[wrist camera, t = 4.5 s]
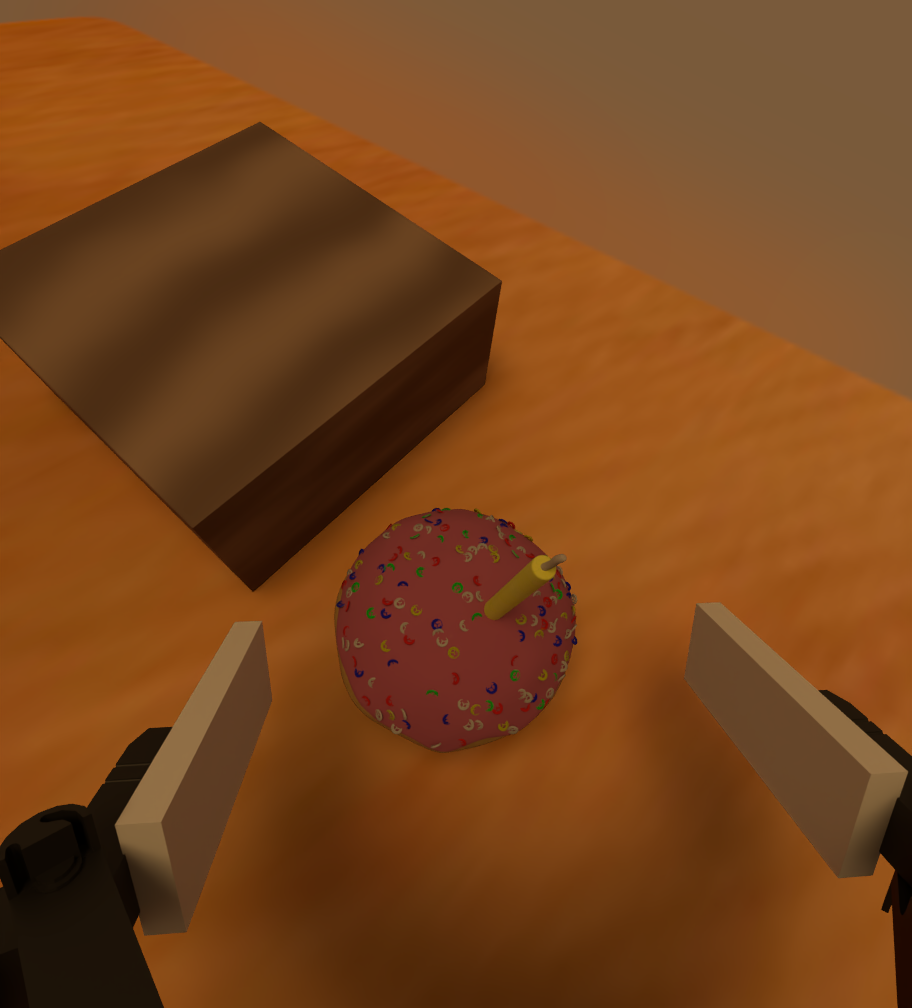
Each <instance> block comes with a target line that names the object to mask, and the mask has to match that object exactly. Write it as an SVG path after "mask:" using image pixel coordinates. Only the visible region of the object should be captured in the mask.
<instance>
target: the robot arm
mask: <svg viewBox="0 0 912 1008" xmlns="http://www.w3.org/2000/svg"><path fill="white" fill-rule="evenodd" d="M684 679H685V680H686V682H687V683H688V684H689V686H690V687H691V688H692V689H693V691H694V692H695V693H696V695H697V696H698V697H699V698H700V700H701V701H702V702H703V704H704V705H705V706H706V708H707V709H708V710H709V711H710V713H711V714H712V715H713V717H714V718H715V719H716V720H717V722H718V723H719V724H720V726H721V727H722V728H723V730H724V731H725V732H726V733H727V735H728V736H729V737H730V739H731V740H732V741H733V743H734V744H735V745H736V746H737V748H738V749H739V750H740V752H741V753H742V754H743V755H744V757H745V758H746V759H747V761H748V762H749V763H750V765H751V766H752V767H753V768H754V770H755V771H756V772H757V774H758V775H759V776H760V778H761V779H762V780H763V781H764V783H765V784H766V785H767V787H768V788H769V789H770V790H771V792H772V793H773V794H774V796H775V797H776V798H777V800H778V801H779V802H780V803H781V805H782V806H783V807H784V809H785V810H786V811H787V813H788V814H789V815H790V816H791V818H792V819H793V820H794V822H795V823H796V824H797V825H798V827H799V828H800V829H801V831H802V832H803V833H804V835H805V836H806V837H807V838H808V840H809V841H810V842H811V844H812V845H813V846H814V848H815V849H816V850H817V851H818V853H819V854H820V855H821V857H822V858H823V859H824V860H825V862H826V863H827V864H828V866H829V867H830V868H831V870H832V871H833V872H834V873H835V875H836V876H837V877H838V878H846V877H858V876H870V875H873V873H874V870H875V867H876V864H877V861H878V858H879V855H880V853H881V854H882V855H883V856H884V858H885V859H886V860H887V861H888V862H889V863H890V864H891V866H892V867H893V868H894V869H895V872H894V875H893V878H892V880H891V883H890V886H889V889H888V891H887V894H886V897H885V900H884V903H883V906H882V909H881V910H883V911H885V912H887V913H888V912H889V909H890V907H891V905H892V913H893V931H894V949H895V968H896V986H897V1004H898V1008H912V756H911V755H910V754H909V753H907V752H906V751H905V750H904V749H903V748H902V747H900V746H899V745H898V744H897V743H896V742H895V741H894V740H892V739H891V738H890V737H889V736H888V735H887V734H883V732H882V730H881V729H880V728H878V727H877V726H876V725H875V724H874V723H873V722H871V721H870V722H869V721H868V718H867V717H866V716H865V715H863V714H862V713H861V712H860V711H859V710H858V709H856V708H855V707H854V706H853V705H852V704H851V703H849V702H847V701H846V700H844V699H842V698H840V697H838V696H837V695H835V694H833V693H831V692H830V691H828V690H817V689H816V688H815V687H814V686H812V685H811V684H810V683H809V682H808V681H807V680H806V679H805V678H804V677H802V676H801V675H800V674H799V673H798V672H797V671H796V670H795V669H794V668H792V667H791V666H790V665H789V664H788V663H787V662H786V661H785V660H784V659H782V658H781V657H780V656H779V655H778V654H777V653H776V652H775V651H774V650H772V649H771V648H770V647H769V646H768V645H767V644H766V643H765V642H764V641H762V640H761V639H760V638H759V637H758V636H757V635H756V634H755V633H753V632H752V631H751V630H750V629H749V628H748V627H747V626H746V625H745V624H743V623H742V622H741V621H740V620H739V619H738V618H737V617H736V616H735V615H733V614H732V613H731V612H730V611H729V610H728V609H727V608H726V607H725V606H723V605H722V604H721V603H696V609H695V615H694V621H693V627H692V633H691V640H690V646H689V652H688V658H687V664H686V670H685V677H684ZM271 702H272V694H271V687H270V679H269V671H268V664H267V656H266V648H265V641H264V633H263V625H262V621H249V622H235V623H234V624H233V626H232V628H231V629H230V631H229V633H228V634H227V636H226V638H225V640H224V641H223V643H222V645H221V646H220V648H219V650H218V651H217V653H216V655H215V656H214V658H213V660H212V662H211V663H210V665H209V667H208V668H207V670H206V672H205V673H204V675H203V677H202V678H201V680H200V682H199V684H198V685H197V687H196V689H195V690H194V692H193V694H192V695H191V697H190V699H189V700H188V702H187V704H186V705H185V707H184V709H183V711H182V712H181V714H180V716H179V717H178V719H177V721H176V722H175V724H174V726H173V727H161V728H149V729H147V730H146V731H145V732H144V733H143V734H141V735H140V736H139V737H138V738H137V739H135V740H134V741H133V742H132V743H131V744H129V745H128V747H127V748H126V750H125V751H124V753H123V754H122V756H121V757H120V759H119V760H118V762H117V763H116V767H115V768H113V769H112V771H111V772H110V774H109V775H108V777H107V778H106V780H105V784H102V786H101V787H100V789H99V790H98V792H97V793H96V795H95V796H94V798H93V799H92V801H91V802H90V804H89V805H88V807H87V808H86V807H85V806H81V805H76V804H68V805H61V806H56V807H53V808H50V809H48V810H45V811H43V812H40V813H38V814H36V815H34V816H33V817H31V818H30V819H28V820H26V821H25V822H23V823H21V824H20V825H19V826H18V827H17V828H16V829H15V830H14V831H12V832H11V833H10V834H9V835H8V836H7V837H6V838H5V840H4V841H3V843H2V844H1V846H0V879H1V882H2V884H3V887H1V888H0V1008H164V1006H163V1004H162V1001H161V999H160V996H159V994H158V991H157V989H156V986H155V984H154V981H153V978H152V976H151V973H150V971H149V968H148V966H147V963H146V961H145V958H144V956H143V953H142V950H141V948H140V945H139V943H138V940H137V938H136V935H135V933H134V930H133V926H134V924H135V922H136V920H137V918H138V916H139V917H140V921H141V925H142V928H143V932H144V936H145V935H157V934H169V933H181V932H187V929H188V927H189V924H190V921H191V918H192V916H193V913H194V910H195V908H196V905H197V902H198V899H199V897H200V894H201V891H202V889H203V886H204V883H205V880H206V878H207V875H208V872H209V870H210V867H211V864H212V862H213V859H214V856H215V853H216V851H217V848H218V845H219V843H220V840H221V837H222V834H223V832H224V829H225V826H226V824H227V821H228V818H229V815H230V813H231V810H232V807H233V805H234V802H235V799H236V797H237V794H238V791H239V788H240V786H241V783H242V780H243V778H244V775H245V772H246V769H247V767H248V764H249V761H250V759H251V756H252V753H253V750H254V748H255V745H256V742H257V740H258V737H259V734H260V732H261V729H262V726H263V723H264V721H265V718H266V715H267V713H268V710H269V707H270V704H271Z"/></svg>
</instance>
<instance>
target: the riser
mask: <svg viewBox="0 0 912 1008" xmlns="http://www.w3.org/2000/svg"><path fill="white" fill-rule="evenodd" d="M501 284H502V281H501V280H500V279H498V278H497V277H495V276H494V275H492V274H491V273H489V272H488V271H486V270H485V269H483V268H482V267H480V266H479V265H477V264H476V263H474V262H473V261H471V260H469V259H468V258H466V257H465V256H463V255H462V254H460V253H459V252H457V251H456V250H454V249H453V248H451V247H450V246H448V245H447V244H445V243H444V242H442V241H441V240H439V239H438V238H436V237H435V236H433V235H432V234H430V233H428V232H427V231H425V230H424V229H422V228H421V227H419V226H418V225H416V224H415V223H413V222H412V221H410V220H409V219H407V218H406V217H404V216H403V215H401V214H400V213H398V212H397V211H395V210H394V209H392V208H390V207H389V206H387V205H386V204H384V203H383V202H381V201H380V200H378V199H377V198H375V197H374V196H372V195H371V194H369V193H368V192H366V191H365V190H363V189H362V188H360V187H359V186H357V185H356V184H354V183H353V182H351V181H349V180H348V179H346V178H345V177H343V176H342V175H340V174H339V173H337V172H336V171H334V170H333V169H331V168H330V167H328V166H327V165H325V164H324V163H322V162H321V161H319V160H318V159H316V158H315V157H313V156H311V155H310V154H308V153H307V152H305V151H304V150H302V149H301V148H299V147H298V146H296V145H295V144H293V143H292V142H290V141H289V140H287V139H286V138H284V137H283V136H281V135H280V134H278V133H277V132H275V131H274V130H272V129H270V128H269V127H267V126H266V125H264V124H263V123H261V122H259V123H257V124H255V125H253V126H250V127H248V128H246V129H244V130H242V131H240V132H238V133H236V134H234V135H232V136H230V137H228V138H226V139H224V140H222V141H220V142H218V143H216V144H214V145H212V146H210V147H208V148H206V149H204V150H202V151H200V152H198V153H196V154H194V155H192V156H190V157H188V158H186V159H184V160H182V161H180V162H178V163H176V164H174V165H171V166H169V167H167V168H165V169H163V170H161V171H159V172H157V173H155V174H153V175H151V176H149V177H147V178H145V179H143V180H141V181H139V182H137V183H135V184H133V185H131V186H129V187H127V188H125V189H123V190H121V191H119V192H117V193H115V194H113V195H111V196H109V197H107V198H105V199H103V200H101V201H99V202H97V203H95V204H92V205H90V206H88V207H86V208H84V209H82V210H80V211H78V212H76V213H74V214H72V215H70V216H68V217H66V218H64V219H62V220H60V221H58V222H56V223H54V224H52V225H50V226H48V227H46V228H44V229H42V230H40V231H38V232H36V233H34V234H32V235H30V236H28V237H26V238H24V239H22V240H20V241H18V242H16V243H13V244H11V245H9V246H7V247H5V248H3V249H1V250H0V338H1V339H2V340H3V341H4V342H5V343H6V344H7V345H8V346H9V347H10V348H11V349H12V350H13V351H14V352H15V354H16V355H17V356H18V357H19V358H20V359H21V360H22V361H23V362H24V363H25V364H26V365H27V366H28V367H29V368H30V369H31V370H32V371H33V372H34V373H35V374H36V375H37V376H38V377H39V378H40V379H41V380H42V381H43V382H44V383H45V384H46V385H47V386H48V387H49V388H50V389H51V390H52V391H53V392H54V393H55V394H56V395H57V396H58V397H59V398H60V399H61V400H62V401H63V402H64V403H65V404H66V405H67V406H68V407H69V408H70V409H71V410H72V411H73V412H74V413H75V414H76V415H77V416H78V417H79V418H80V419H81V420H82V421H83V422H84V423H85V424H86V425H87V426H88V427H89V428H90V429H91V430H92V431H93V432H94V433H95V434H96V435H97V436H98V437H99V438H100V439H101V440H102V441H103V442H104V443H105V444H106V445H107V446H108V447H109V448H110V449H111V450H112V451H113V452H114V453H115V454H116V455H117V456H118V457H119V458H120V459H121V460H122V461H123V462H124V463H125V464H126V465H127V466H128V467H129V468H130V469H131V470H132V471H133V472H134V473H135V474H136V475H137V476H138V477H139V478H140V479H141V480H142V481H143V482H144V483H145V484H146V485H147V486H148V487H149V488H150V489H151V490H152V491H153V492H154V493H155V494H156V495H157V496H158V497H159V498H160V499H161V500H162V501H163V502H164V503H165V504H166V505H167V506H168V507H169V508H170V509H171V510H172V511H173V512H174V513H175V514H176V515H177V516H178V517H179V518H180V519H181V520H182V521H183V522H184V523H185V524H186V525H187V526H188V527H189V528H190V529H191V530H192V531H193V532H194V533H195V534H196V535H197V536H198V537H199V538H200V539H201V540H202V541H203V542H204V543H205V544H206V545H207V546H208V547H209V548H210V549H211V550H212V551H213V552H214V553H215V554H216V555H217V556H218V557H219V558H220V559H221V560H222V561H223V562H224V563H225V564H226V565H227V566H228V567H229V568H230V569H231V570H232V571H233V572H234V573H235V574H236V575H237V576H238V577H239V578H240V579H241V580H242V581H243V582H244V583H245V584H246V585H247V586H248V587H249V588H250V589H251V590H252V591H254V590H255V589H257V588H258V587H259V586H260V585H261V584H262V583H263V582H264V581H266V580H267V579H268V578H269V577H270V576H271V575H272V574H273V573H274V572H276V571H277V570H278V569H279V568H280V567H281V566H282V565H283V564H285V563H286V562H287V561H288V560H289V559H290V558H291V557H292V556H293V555H295V554H296V553H297V552H298V551H299V550H300V549H301V548H302V547H303V546H305V545H306V544H307V543H308V542H309V541H310V540H311V539H312V538H314V537H315V536H316V535H317V534H318V533H319V532H320V531H321V530H322V529H324V528H325V527H326V526H327V525H328V524H329V523H330V522H331V521H333V520H334V519H335V518H336V517H337V516H338V515H339V514H340V513H341V512H343V511H344V510H345V509H346V508H347V507H348V506H349V505H350V504H351V503H353V502H354V501H355V500H356V499H357V498H358V497H359V496H360V495H362V494H363V493H364V492H365V491H366V490H367V489H368V488H369V487H370V486H372V485H373V484H374V483H375V482H376V481H377V480H378V479H379V478H381V477H382V476H383V475H384V474H385V473H386V472H387V471H388V470H389V469H391V468H392V467H393V466H394V465H395V464H396V463H397V462H398V461H399V460H401V459H402V458H403V457H404V456H405V455H406V454H407V453H408V452H410V451H411V450H412V449H413V448H414V447H415V446H416V445H417V444H418V443H420V442H421V441H422V440H423V439H424V438H425V437H426V436H427V435H429V434H430V433H431V432H432V431H433V430H434V429H435V428H436V427H437V426H439V425H440V424H441V423H442V422H443V421H444V420H445V419H446V418H447V417H449V416H450V415H451V414H452V413H453V412H454V411H455V410H456V409H458V408H459V407H460V406H461V405H462V404H463V403H464V402H465V401H466V400H468V399H469V398H470V397H471V396H472V395H473V394H474V393H475V392H477V391H478V390H479V389H480V388H481V387H482V386H483V385H484V384H485V379H486V373H487V367H488V361H489V355H490V349H491V343H492V337H493V331H494V325H495V319H496V313H497V308H498V302H499V296H500V290H501Z"/></svg>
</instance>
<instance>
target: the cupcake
mask: <svg viewBox="0 0 912 1008" xmlns="http://www.w3.org/2000/svg"><path fill="white" fill-rule="evenodd" d="M436 510H437V511H436ZM474 511H475V512H473V511H469V510H463V509H453V510H450V509H449V508H444V509H442V510H440V509H439V508H435V509H433V510H432V512H428V513H423V514H419V515H415V516H411V517H408V518H405V519H402V520H400V521H398V522H396V523H395V524H393V525H392V524H390V525H389V526H388V528H387V529H386V530H385V531H384V532H383V533H382V534H381V535H380V536H378V537H377V538H376V539H375V540H374V541H372V542H371V543H370V544H369V545H368V546H367V547H366V548H365V549H364V550H363V549H361V550H360V551H359V556H358V558H357V559H356V561H355V562H354V564H353V566H352V568H351V569H349V570H348V572H347V576H346V578H345V580H344V581H343V583H342V586H341V588H340V591H339V593H338V597H337V601H336V606H335V634H336V643H337V650H338V657H339V663H340V669H341V675H342V678H343V681H344V684H345V687H346V689H347V691H348V693H349V695H350V697H351V699H352V700H353V702H354V703H355V705H356V706H357V707H358V708H359V709H360V710H361V711H362V712H363V713H364V714H365V715H366V716H367V717H369V718H370V719H372V720H373V721H375V722H376V723H378V724H380V725H382V726H383V727H385V728H387V729H389V730H391V731H392V732H393V733H394V734H398V735H400V736H402V737H404V738H406V739H408V740H410V741H412V742H414V743H416V744H418V745H420V746H422V747H424V748H426V749H429V750H431V751H434V752H439V753H446V752H453V751H458V750H462V749H467V748H471V747H476V746H480V745H483V744H486V743H489V742H492V741H494V740H497V739H499V738H502V737H504V736H506V735H510V734H515V733H517V732H518V731H519V730H521V729H523V728H524V727H525V726H526V725H528V724H529V723H530V722H531V721H532V720H533V719H534V718H535V717H536V716H537V715H538V714H539V713H540V712H541V711H542V710H543V709H544V708H545V707H546V706H547V705H548V703H549V702H550V701H551V699H552V698H553V696H554V695H555V693H556V691H557V690H558V688H559V686H560V684H561V682H562V679H563V678H564V677H565V676H566V675H565V671H566V670H567V667H568V666H567V665H568V663H569V659H570V655H571V651H572V648H573V644H574V645H576V644H577V639H576V637H575V628H576V626H577V625H576V624H575V623H576V620H575V619H576V616H575V607H574V604H576V602H577V597H576V595H575V594H572V595H571V593H570V591H569V590H570V589H571V586H570V584H569V583H568V582H566V581H565V579H564V577H563V575H562V574H563V571H562V568H561V567H559V566H557V565H558V564H559V563H562V562H564V561H566V556H565V555H564V554H559V555H556V556H554V557H553V558H552V559H551V558H550V557H548V556H547V555H546V554H545V553H544V552H543V551H542V550H541V549H540V548H539V547H537V546H536V545H535V544H534V543H533V542H532V541H533V539H532V538H531V537H530V536H528V535H525V536H524V535H522V533H521V532H519V531H517V530H515V525H514V524H513V523H512V522H508V523H507V522H506V521H505V520H503V519H499V520H498V519H495V518H494V517H493V516H492V515H491V516H487V515H483V514H481V512H480V511H479V510H478V509H474ZM477 511H478V512H477ZM510 524H512V526H511V525H510ZM391 525H392V526H391ZM526 537H527V538H526ZM528 538H530V539H528ZM559 569H560V570H559ZM568 587H569V588H568ZM572 597H573V599H572ZM574 598H575V600H574ZM573 600H574V602H573ZM574 639H575V641H574Z"/></svg>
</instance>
